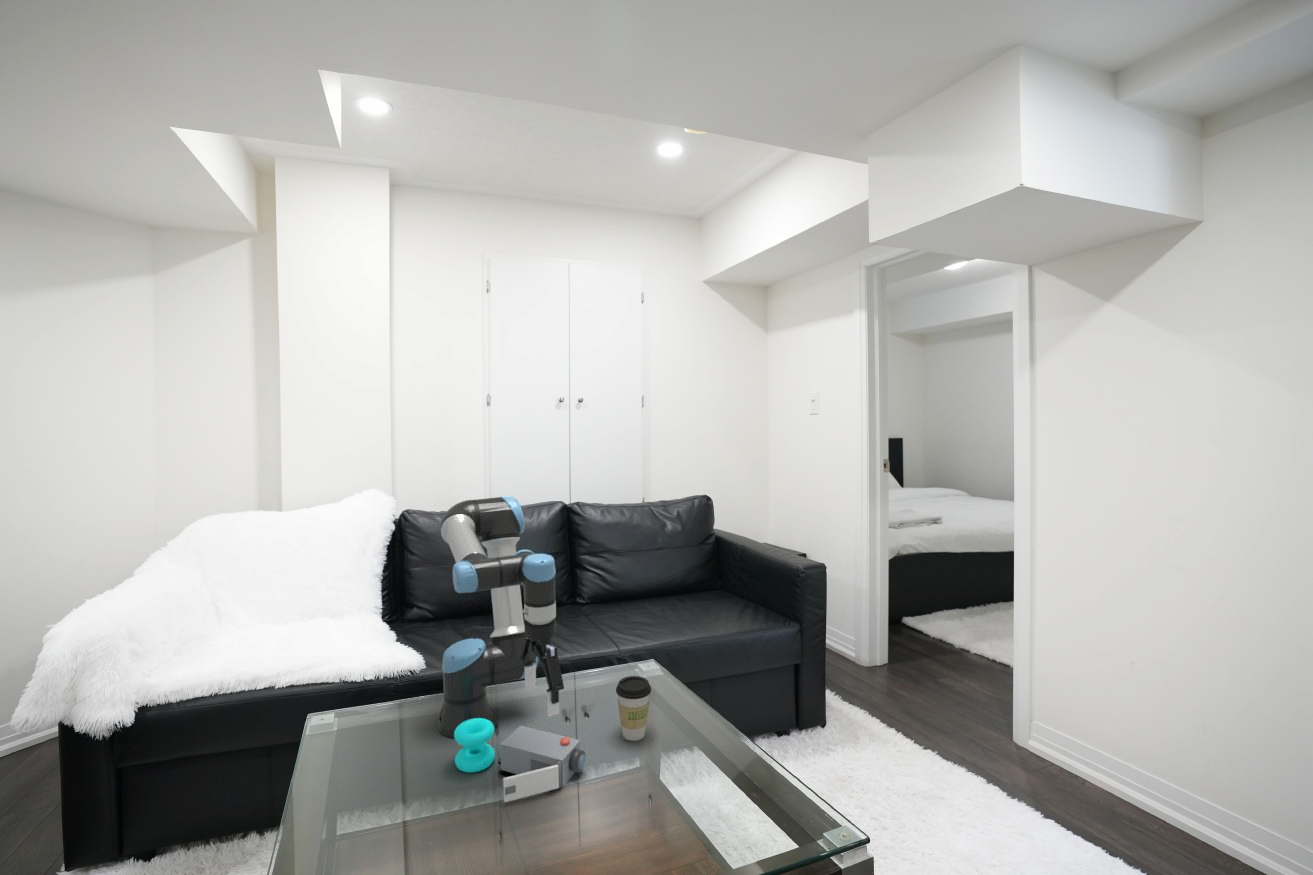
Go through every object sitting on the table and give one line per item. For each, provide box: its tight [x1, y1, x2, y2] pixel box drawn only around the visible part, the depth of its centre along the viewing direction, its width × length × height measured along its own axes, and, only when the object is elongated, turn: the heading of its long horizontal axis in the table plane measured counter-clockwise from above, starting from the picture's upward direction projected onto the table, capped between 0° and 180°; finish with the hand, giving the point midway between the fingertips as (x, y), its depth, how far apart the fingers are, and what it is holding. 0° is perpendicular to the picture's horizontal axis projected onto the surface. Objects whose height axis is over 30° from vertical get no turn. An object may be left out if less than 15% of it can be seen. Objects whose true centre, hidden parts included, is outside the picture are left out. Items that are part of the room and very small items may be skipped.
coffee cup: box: [615, 675, 652, 742], centre depth 177 cm, size 10×10×15 cm
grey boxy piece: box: [499, 725, 586, 788], centre depth 162 cm, size 20×9×8 cm, turn 68°
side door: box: [502, 761, 562, 803], centre depth 151 cm, size 14×2×6 cm, turn 113°
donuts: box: [453, 718, 496, 773], centre depth 164 cm, size 10×10×10 cm
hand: (541, 701), depth 156 cm, fingers open, 13 cm apart
